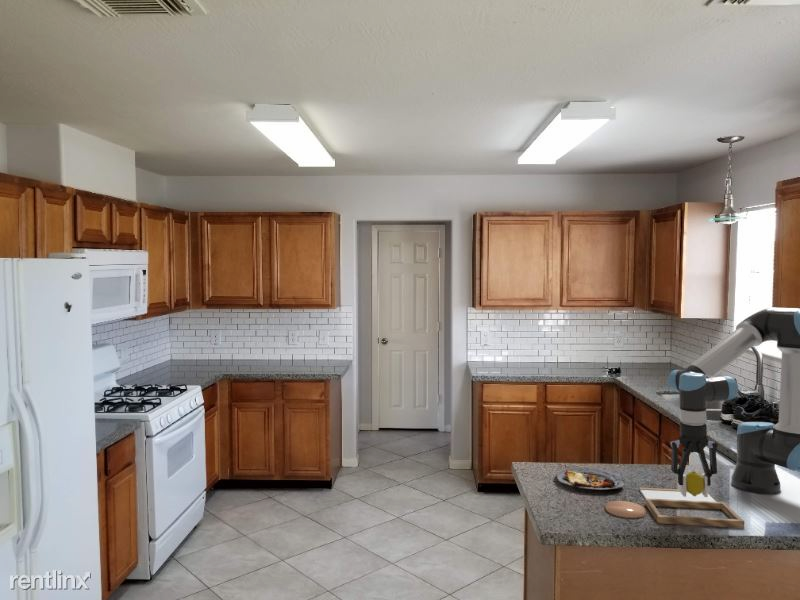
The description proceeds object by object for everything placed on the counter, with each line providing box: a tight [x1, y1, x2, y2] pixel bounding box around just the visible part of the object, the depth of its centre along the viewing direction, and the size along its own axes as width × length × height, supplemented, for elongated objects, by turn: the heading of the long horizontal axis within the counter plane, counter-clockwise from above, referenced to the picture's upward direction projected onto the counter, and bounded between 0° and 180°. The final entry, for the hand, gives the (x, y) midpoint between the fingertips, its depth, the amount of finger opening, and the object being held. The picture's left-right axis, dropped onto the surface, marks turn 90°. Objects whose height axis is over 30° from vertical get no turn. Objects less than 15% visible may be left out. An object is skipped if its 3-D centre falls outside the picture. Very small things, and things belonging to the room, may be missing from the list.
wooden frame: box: [644, 498, 745, 529], centre depth 185 cm, size 24×16×2 cm, turn 81°
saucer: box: [605, 500, 646, 519], centre depth 189 cm, size 12×12×1 cm
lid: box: [638, 487, 717, 502], centre depth 199 cm, size 22×13×1 cm, turn 81°
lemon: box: [685, 470, 704, 496], centre depth 185 cm, size 6×6×8 cm
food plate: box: [556, 466, 626, 491], centre depth 216 cm, size 25×23×4 cm
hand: (694, 495), depth 185 cm, fingers closed on lemon, 5 cm apart
